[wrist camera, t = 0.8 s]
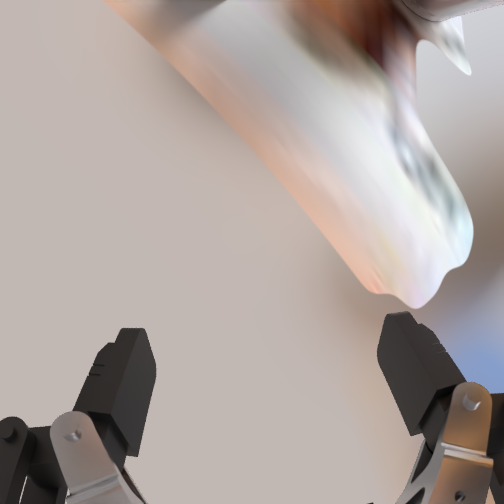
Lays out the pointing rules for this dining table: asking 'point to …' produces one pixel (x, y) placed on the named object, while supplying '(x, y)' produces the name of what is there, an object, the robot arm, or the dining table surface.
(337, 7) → the dining table surface
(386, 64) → the dining table surface
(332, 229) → the dining table surface
